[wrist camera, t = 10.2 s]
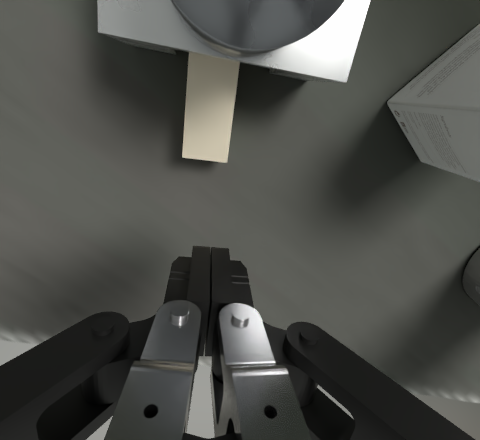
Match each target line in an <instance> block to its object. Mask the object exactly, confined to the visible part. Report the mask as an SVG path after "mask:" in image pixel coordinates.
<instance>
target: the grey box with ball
mask: <svg viewBox="0 0 480 440" xmlns="http://www.w3.org/2000/svg"><path fill="white" fill-rule="evenodd" d="M369 3H370V0H97V4H98V32H99V33H101V34H104V35H106V36H109V37H111V38H114V39H116V40H119V41H121V42H124V43H126V44H129V45H131V46H135V47H140V48H145V49H150V50H155V51H160V52H165V53H170V54H175V55H176V50H181V51H185V52H190V53H195V54H200V55H205V56H210V57H215V58H220V59H225V60H230V61H235V62H240V63H245V64H250V65H255V66H260V67H264V68H269V69H270V72H269V73H270V74H275V75H280V76H285V77H290V78H295V79H300V80H305V81H321V82H344V83H346V82H347V78H348V75H349V71H350V68H351V65H352V61H353V58H354V54H355V51H356V47H357V44H358V41H359V37H360V34H361V30H362V27H363V23H364V20H365V17H366V13H367V10H368V6H369Z"/></svg>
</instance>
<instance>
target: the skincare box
mask: <svg viewBox="0 0 480 440" xmlns="http://www.w3.org/2000/svg"><path fill="white" fill-rule="evenodd" d="M387 104H388V106H389V108H390V110H391V111H392V113H393V115H394V117H395V118H396V120H397V122H398V124H399V125H400V127H401V129H402V130H403V132H404V134H405V136H406V137H407V139H408V141H409V142H410V144H411V146H412V147H413V149H414V151H415V152H416V154H417V156H418V158H419V159H420V161H421V162H423V163H426V164H429V165H432V166H435V167H437V168H440V169H443V170H446V171H449V172H452V173H455V174H458V175H461V176H464V177H467V178H469V179H472V180H475V181H478V182H480V24H479V25H477V26H476V27H475V28H474V29H473V30H471V31H470V32H469V33H468V34H467V35H465V36H464V37H463V38H462V39H461V40H459V41H458V42H457V43H456V44H455V45H453V46H452V47H451V48H450V49H449V50H447V51H446V52H445V53H444V54H443V55H441V56H440V57H439V58H438V59H437V60H435V61H434V62H433V63H432V64H431V65H429V66H428V67H427V68H426V69H425V70H423V71H422V72H421V73H420V74H419V75H418V76H416V77H415V78H414V79H413V80H412V81H410V82H409V83H408V84H407V85H406V86H405V87H403V88H402V89H401V90H400V91H399V92H397V93H396V94H395V95H394V96H393V97H392V98H391V99H389V100H388V102H387Z"/></svg>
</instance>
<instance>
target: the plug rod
mask: <svg viewBox="0 0 480 440" xmlns="http://www.w3.org/2000/svg"><path fill="white" fill-rule="evenodd" d="M239 66H240V62H235V61H230V60H225V59H220V58H215V57H210V56H205V55H200V54H195V53H190V52H189V60H188V75H187V90H186V106H185V121H184V136H183V152H182V158H190V159H199V160H207V161H216V162H224V163H227V159H228V151H229V143H230V136H231V128H232V120H233V112H234V104H235V97H236V89H237V81H238V73H239Z"/></svg>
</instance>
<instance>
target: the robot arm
mask: <svg viewBox="0 0 480 440" xmlns="http://www.w3.org/2000/svg"><path fill="white" fill-rule="evenodd" d="M463 287H464V290H465V292H466V293H467V295H468V296H469V297H470V298H471V299H473V300H474V301H475V302H476V303H477V304H479V305H480V248H479V249H478V250H477V251H476V253H475V254H474V255H473V256H472V258H471V259H470V261H469V262H468V264H467V266H466V268H465V270H464V275H463ZM204 345H205V356H212V367H211V374H210V382H211V394H212V406H213V418H214V431H215V432H214V433H215V438H211V439H206V438H201V437H198V436H195V435H191V434H187V433H186V432H187V425H188V418H189V411H190V404H191V397H192V390H193V383H194V376H195V372H196V370H197V367H198V359H199V356H203V353H204ZM318 385H320V386H321V387H322V388H323V389H324V390H325V391H326V392H328V393H329V394H330V395H331V396H332V397H334V398H335V399H336V400H337V401H338V402H339V403H340V404H342V405H343V406H344V407H345V408H346V409H347V410H348V411H349V412H350V413H351V415H352V416H353V418H354V419H352V418H351V417H350V416H349V415H347V413H345V412H344V411H343V410H342V409H341V408H340V407H339V406H337V405H336V404H335V403H334V402H333V401H332V400H330V399H329V398H328V397H327V396H326V395H325V394H324V393H323V392H321V391H320V390H319V389H318V388H317V386H318ZM111 416H113V417H112V420H111V422H110V425H109V428H108V430H107V433H106V436H105V438H104V440H475V439H473V438H472V437H471V436H469V435H468V434H467V433H465V432H464V431H462V430H461V429H460V428H458V427H457V426H455V425H454V424H453V423H451V422H450V421H448V420H447V419H446V418H444V417H443V416H441V415H440V414H439V413H437V412H436V411H435V410H433V409H432V408H430V407H429V406H428V405H426V404H425V403H424V402H422V401H421V400H419V399H418V398H417V397H415V396H414V395H412V394H411V393H410V392H408V391H407V390H405V389H404V388H403V387H401V386H400V385H399V384H397V383H396V382H394V381H393V380H392V379H390V378H389V377H387V376H386V375H385V374H383V373H382V372H380V371H379V370H378V369H376V368H375V367H373V366H372V365H371V364H369V363H368V362H367V361H365V360H364V359H362V358H361V357H360V356H358V355H357V354H355V353H354V352H353V351H351V350H350V349H348V348H347V347H346V346H344V345H343V344H342V343H340V342H339V341H337V340H336V339H335V338H333V337H332V336H330V335H329V334H328V333H326V332H325V331H323V330H322V329H321V328H319V327H318V326H316V325H313V324H311V323H307V322H296V323H293V324H291V325H290V326H289V327H288V328H287V331H286V330H283V329H279V328H276V327H273V326H270V325H268V324H266V323H265V322H263V321H262V319H261V316H260V314H259V313H258V312H257V311H256V310H255V309H254V306H253V301H252V295H251V290H250V285H249V279H248V274H247V269H246V267H245V266H244V265H243V264H242V263H241V261H233V260H230V255H229V249H228V248H215V247H212V248H211V254H210V247H202V246H193V251H192V257H178V258H177V259H176V260H175V261H174V262H173V263H172V267H171V272H170V276H169V281H168V285H167V290H166V294H165V299H164V303H163V305H162V306H161V307H160V308H159V309H158V311H157V313H156V315H154V316H153V317H151V318H149V319H146V320H142V321H137V322H132V323H129V321H128V319H127V318H126V317H125V316H124V315H122V314H119V313H116V312H101V313H97V314H94V315H92V316H90V317H88V318H86V319H84V320H82V321H80V322H79V323H77V324H75V325H73V326H71V327H70V328H68V329H66V330H64V331H62V332H61V333H59V334H57V335H55V336H53V337H52V338H50V339H48V340H46V341H44V342H43V343H41V344H39V345H37V346H35V347H34V348H32V349H30V350H29V351H27V352H25V353H23V354H21V355H20V356H17V357H16V358H14V359H12V360H10V361H9V362H7V363H5V364H3V365H1V366H0V440H86V439H87V438H88V437H89V436H90V435H91V434H93V433H94V432H95V431H96V430H97V429H98V428H99V427H100V426H102V425H103V424H104V423H105V422H106V421H107V420H108V419H109V418H110V417H111Z"/></svg>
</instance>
